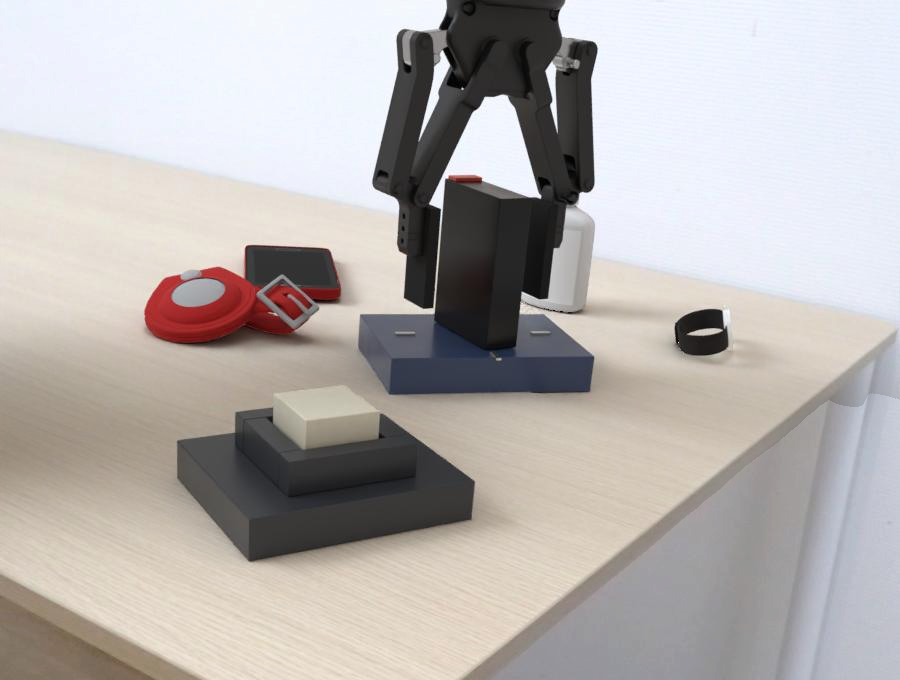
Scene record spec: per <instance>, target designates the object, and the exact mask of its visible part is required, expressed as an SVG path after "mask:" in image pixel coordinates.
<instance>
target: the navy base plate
mask: <svg viewBox="0 0 900 680" xmlns="http://www.w3.org/2000/svg"><path fill="white" fill-rule="evenodd" d="M434 314H435V313H360V314H359V320H358V321H359V323H358V342H357V348H358V349H359V351H360V352H361V354H362V355H363V357H364V358H365V360H366V361H367V363H368V364H369V366H370V367H371V369H372V370H373V372H374V374H375V376H376V377H377V378H378V381H380V383H381V384H382V386H383V387H384V390H385V391H386V392H387V394H388V395H390V396H391V395H392V396H393V395H394V396H396V395H441V394H444V395H446V394H494V393H502V394H503V393H570V392H571V393H572V392H590V391H591V387H592V381H593V380H592V379H593V372H594V366H595V365H594V364H595V355H594V354H592V353H591V352H590V351H589V350H587V349H586V348H585V347H584V346H583V345H581V344H580V343H579V342H578V341H576V340H575V339H574V338H573V337H572V336H570V335H569V334H568V333H567V332H566V330H564V329H562V328H561V327H560V326H559V325H557V323H555V322H554V321H552V320H551V318H550V317H548V316H547V315H545V314H544V313H520V314H519V324H518V333H517V342H516V347H512V348H503V349H493V350H485V349H483V348H482V347H480V346H478V345H476V344H475V343H473V342H471V341H469V340H467V339H466V338H464V337H462V336H460V335H459V334H457V333H455V332H453V331H451V330H450V329H448V328H446V327H444V326H443V325H441V324H439V323H437V322H435V321H434Z"/></svg>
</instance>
